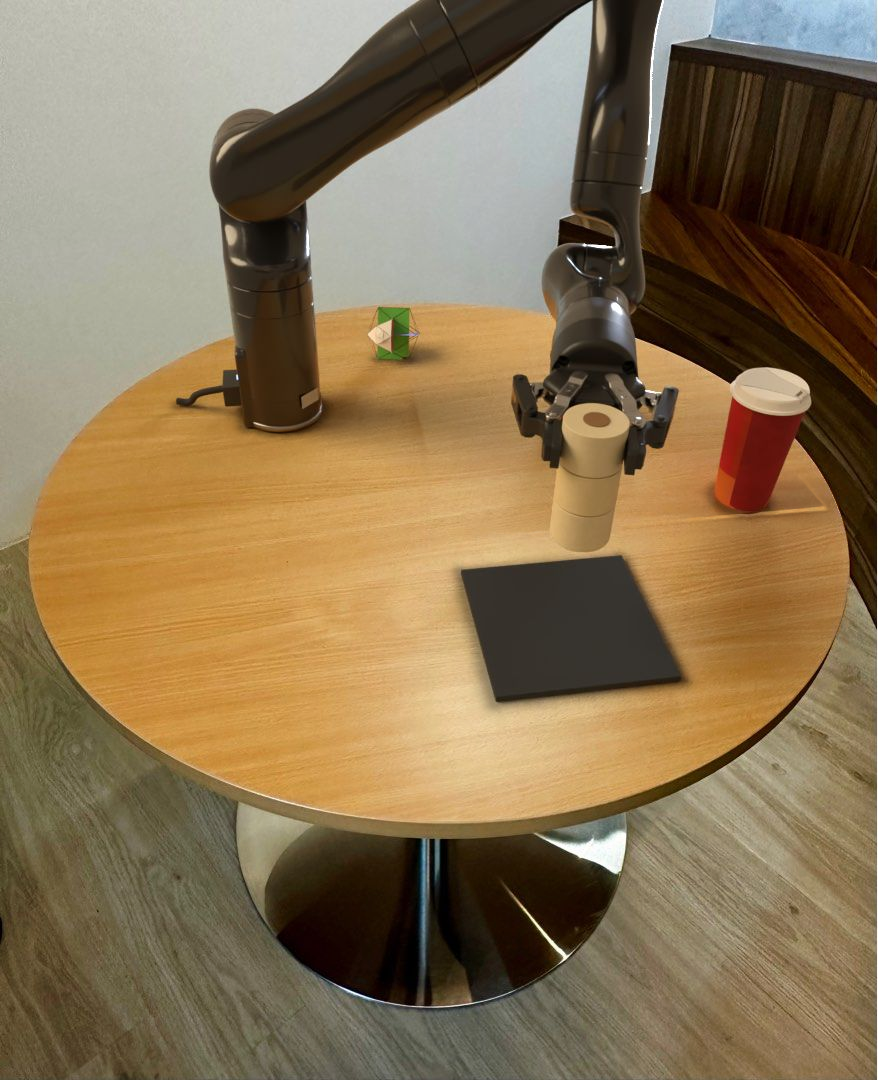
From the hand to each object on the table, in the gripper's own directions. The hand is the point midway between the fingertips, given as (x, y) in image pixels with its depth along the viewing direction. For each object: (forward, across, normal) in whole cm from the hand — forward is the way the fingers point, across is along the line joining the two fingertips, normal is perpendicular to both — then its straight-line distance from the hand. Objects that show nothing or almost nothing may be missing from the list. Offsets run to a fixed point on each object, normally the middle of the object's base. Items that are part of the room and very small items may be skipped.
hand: (593, 461), depth 66 cm
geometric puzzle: (-50, -24, +20) cm, 59 cm away
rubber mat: (-2, 0, +19) cm, 19 cm away
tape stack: (-3, 0, +9) cm, 9 cm away
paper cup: (-24, +18, +20) cm, 36 cm away
